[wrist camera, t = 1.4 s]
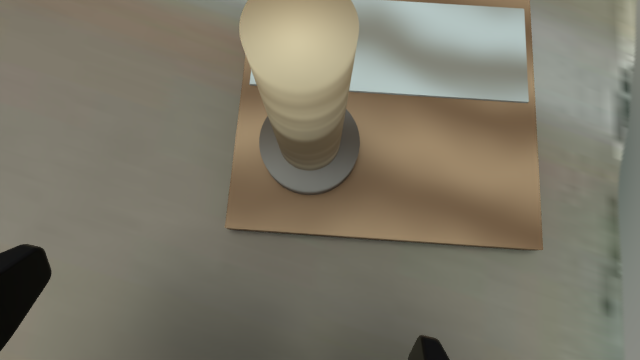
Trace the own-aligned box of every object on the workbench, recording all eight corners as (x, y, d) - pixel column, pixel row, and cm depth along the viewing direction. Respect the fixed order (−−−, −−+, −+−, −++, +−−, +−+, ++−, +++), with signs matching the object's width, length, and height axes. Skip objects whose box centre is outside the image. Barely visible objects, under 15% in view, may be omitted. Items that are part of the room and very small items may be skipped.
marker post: (354, 198, 22) (395, 125, 10) (258, 191, 22) (187, 112, 10) (359, 107, 23) (400, -53, 11) (267, 101, 23) (213, -63, 11)
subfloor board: (531, 250, 22) (545, 249, 21) (229, 229, 23) (223, 227, 21) (519, -1, 26) (530, -16, 25) (258, -17, 26) (255, -32, 25)
